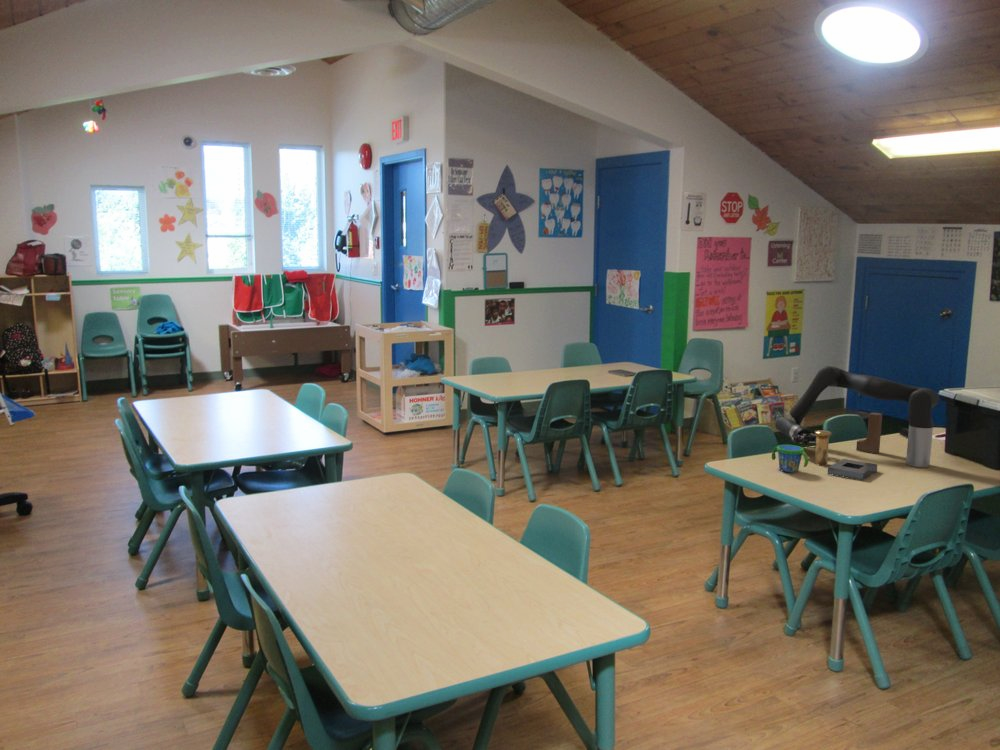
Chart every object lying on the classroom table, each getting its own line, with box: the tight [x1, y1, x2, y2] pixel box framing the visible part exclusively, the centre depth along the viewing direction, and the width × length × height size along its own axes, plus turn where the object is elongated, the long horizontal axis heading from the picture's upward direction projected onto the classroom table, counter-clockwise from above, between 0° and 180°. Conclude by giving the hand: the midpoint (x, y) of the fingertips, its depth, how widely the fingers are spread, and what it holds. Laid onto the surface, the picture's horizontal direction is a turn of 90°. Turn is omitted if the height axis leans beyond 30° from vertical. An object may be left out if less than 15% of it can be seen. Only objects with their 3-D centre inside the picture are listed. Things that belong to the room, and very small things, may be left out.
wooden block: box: [855, 412, 883, 455], centre depth 386 cm, size 9×4×18 cm, turn 47°
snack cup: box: [771, 444, 809, 473], centre depth 354 cm, size 16×10×10 cm
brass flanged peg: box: [814, 429, 832, 466], centre depth 365 cm, size 7×7×14 cm
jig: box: [827, 458, 878, 481], centre depth 352 cm, size 18×14×3 cm
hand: (816, 442), depth 370 cm, fingers open, 8 cm apart
